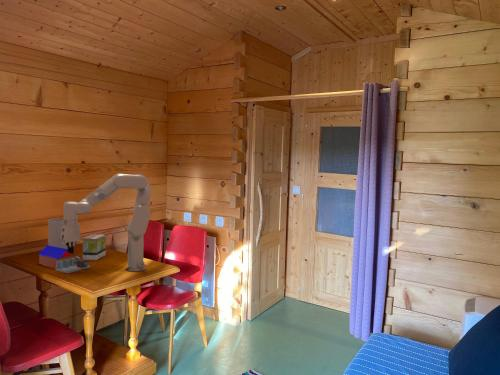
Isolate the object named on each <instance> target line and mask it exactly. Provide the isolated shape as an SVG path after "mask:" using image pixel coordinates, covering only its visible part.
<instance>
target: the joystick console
mask: <svg viewBox="0 0 500 375" xmlns="http://www.w3.org/2000/svg"><path fill="white" fill-rule="evenodd" d="M77 260H81V257H79V256H75V257H73V258H69V259H65V260H60V261H56V269H55V271H57V272H60V273H64V274H70V273H74V272H78V271H82V270H86V269H89V268H91V265H89V264H88V266H87V267H83V268H80V267H77V263H75V261H77Z"/></svg>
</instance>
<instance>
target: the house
mask: <svg viewBox="0 0 500 375" xmlns="http://www.w3.org/2000/svg"><path fill="white" fill-rule="evenodd" d="M73 257H76V254H75V253H68V251H67V249H64V248H59V247H54V246H49V245H48V244H47V245H46V246H45V247H44V248H43V249H42V250H41V251H40V252H39V253H38V261H39V262H38V264H39V265H40V264H41V266H44V267H47V268H51V269H56V261H60V260H65V259H69V258H73Z"/></svg>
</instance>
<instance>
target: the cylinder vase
mask: <svg viewBox="0 0 500 375" xmlns="http://www.w3.org/2000/svg"><path fill="white" fill-rule="evenodd" d="M63 221H64V217H57V218H56V217H55V218H49V219H48V221H47V225H48V230H47V232H48V234H47V240H48V242H47V245H49V246H54V247H59V248H64V249H67V246H66V245H64V244H62V240H61V233H62V226H63V225H64V224H62V222H63Z"/></svg>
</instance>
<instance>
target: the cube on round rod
mask: <svg viewBox="0 0 500 375" xmlns="http://www.w3.org/2000/svg"><path fill="white" fill-rule="evenodd" d="M75 263H77V267H80V268H83V267H87V266H88V265H89V263H88V260H85V259H83V258H82V259H81V258H80V260H77V261H75Z"/></svg>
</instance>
